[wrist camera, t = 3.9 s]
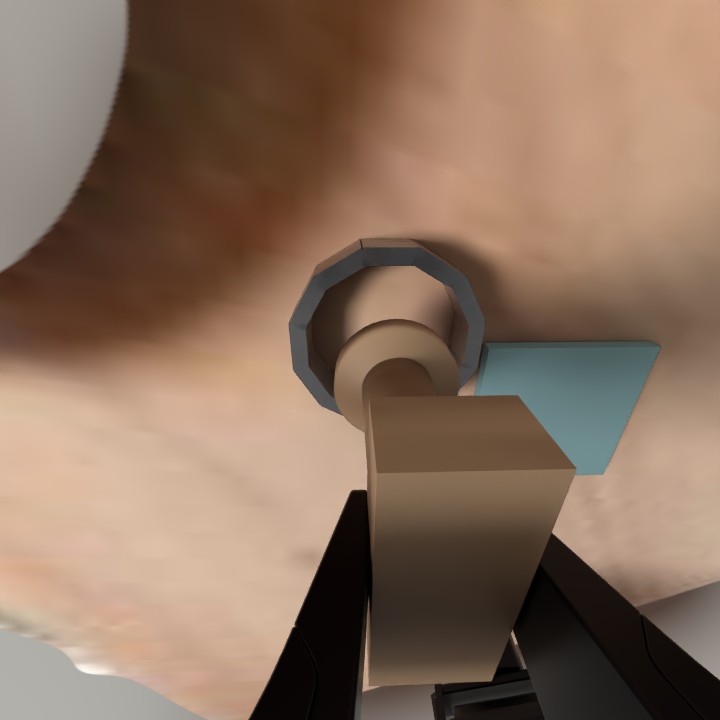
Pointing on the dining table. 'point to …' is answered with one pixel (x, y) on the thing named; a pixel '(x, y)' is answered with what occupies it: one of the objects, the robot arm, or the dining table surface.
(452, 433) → the t key
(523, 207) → the dining table surface
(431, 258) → the ring socket
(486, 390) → the rubber mat
